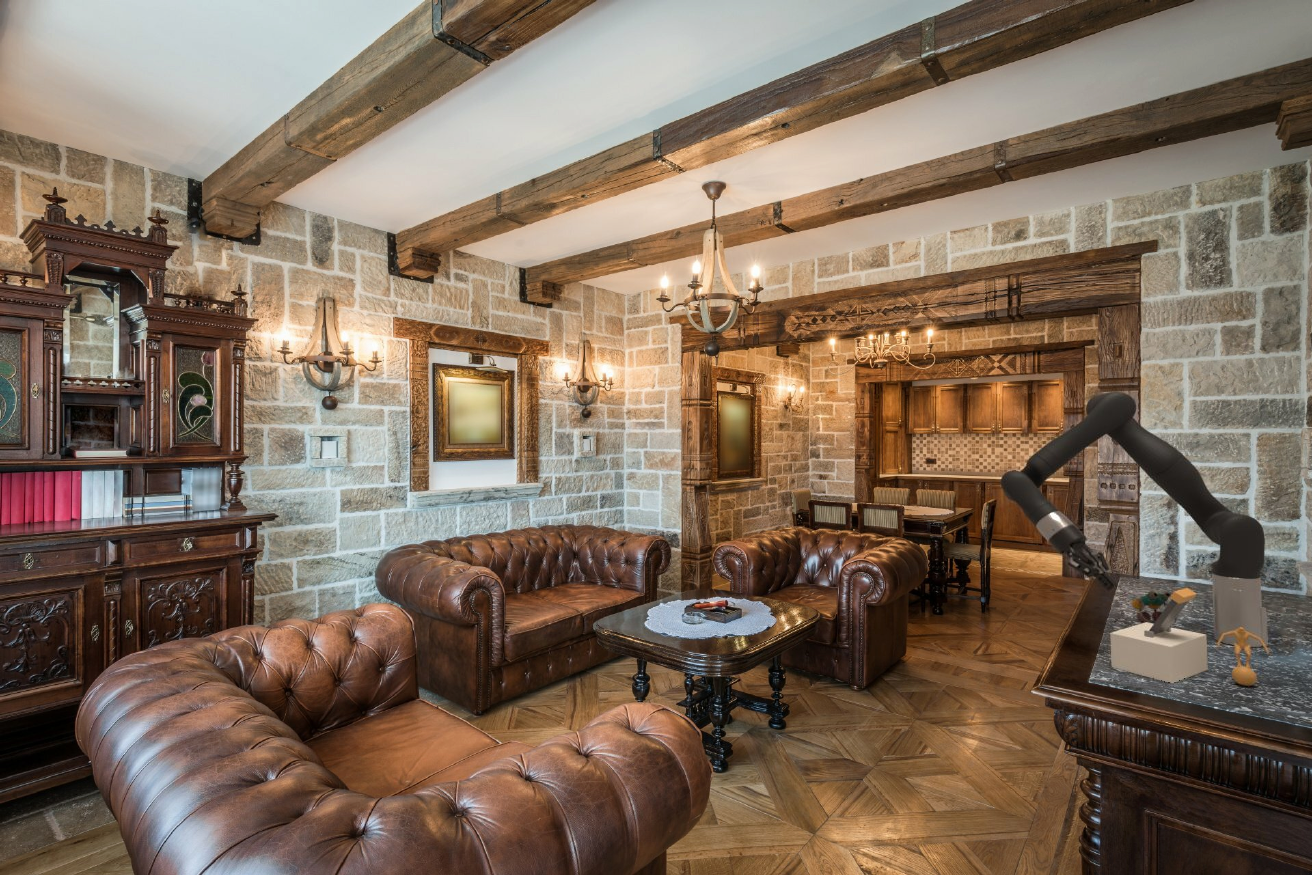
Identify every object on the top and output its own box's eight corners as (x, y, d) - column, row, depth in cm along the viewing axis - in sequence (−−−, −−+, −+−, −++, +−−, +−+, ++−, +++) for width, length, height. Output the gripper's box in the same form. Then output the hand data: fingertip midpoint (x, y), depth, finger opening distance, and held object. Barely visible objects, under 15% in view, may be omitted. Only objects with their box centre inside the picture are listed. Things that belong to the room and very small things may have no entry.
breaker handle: (1145, 631, 145) (1174, 591, 140) (1158, 626, 148) (1187, 587, 143) (1154, 637, 144) (1183, 597, 139) (1167, 632, 147) (1196, 593, 142)
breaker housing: (1111, 666, 147) (1110, 627, 148) (1147, 654, 155) (1145, 617, 155) (1172, 683, 137) (1170, 641, 137) (1207, 669, 144) (1206, 629, 144)
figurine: (1219, 683, 136) (1217, 628, 136) (1217, 675, 141) (1215, 621, 141) (1272, 692, 131) (1270, 634, 131) (1268, 683, 136) (1266, 627, 136)
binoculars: (1172, 631, 179) (1158, 597, 184) (1192, 621, 171) (1176, 586, 177) (1137, 631, 180) (1124, 597, 185) (1155, 621, 172) (1141, 586, 177)
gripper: (1055, 525, 159) (1110, 582, 148) (1085, 521, 165) (1139, 576, 155) (1035, 543, 164) (1087, 600, 153) (1064, 539, 170) (1116, 593, 159)
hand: (1113, 588), depth 154 cm, fingers closed
